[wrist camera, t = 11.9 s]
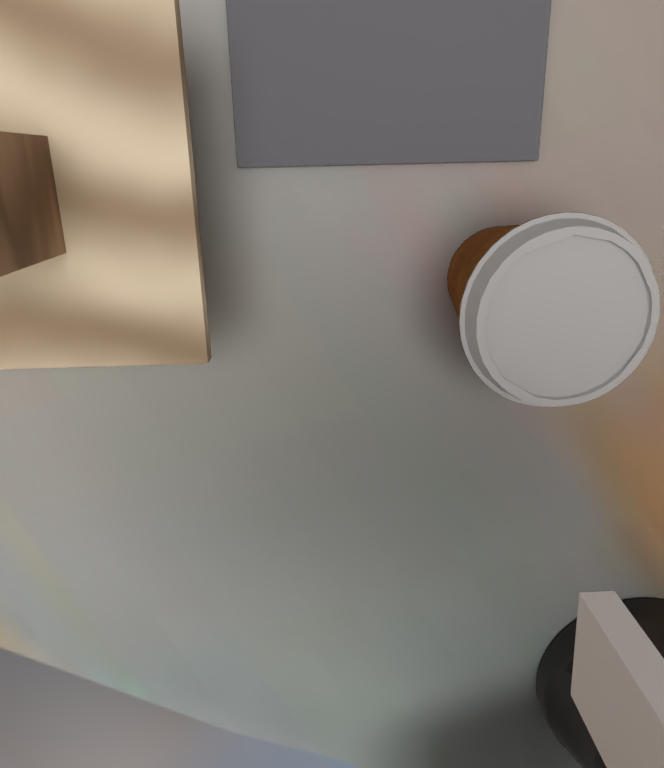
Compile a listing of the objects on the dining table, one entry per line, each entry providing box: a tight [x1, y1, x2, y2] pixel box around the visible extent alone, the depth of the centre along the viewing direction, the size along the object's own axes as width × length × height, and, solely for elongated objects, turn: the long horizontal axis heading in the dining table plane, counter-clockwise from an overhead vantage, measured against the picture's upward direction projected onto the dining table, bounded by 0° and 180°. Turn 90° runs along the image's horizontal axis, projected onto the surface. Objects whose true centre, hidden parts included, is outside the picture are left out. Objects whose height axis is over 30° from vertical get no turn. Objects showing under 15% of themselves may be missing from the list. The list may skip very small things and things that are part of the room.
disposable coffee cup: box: [447, 212, 660, 407], centre depth 35 cm, size 10×10×12 cm
